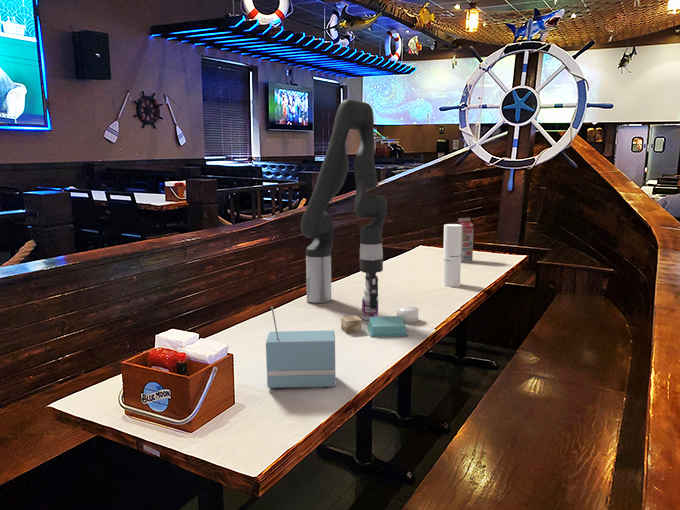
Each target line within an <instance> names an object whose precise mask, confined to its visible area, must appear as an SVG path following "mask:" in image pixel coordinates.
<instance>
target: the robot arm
mask: <svg viewBox="0 0 680 510" xmlns="http://www.w3.org/2000/svg"><path fill="white" fill-rule="evenodd" d="M374 120H375V119H374V110H373V108H372V106H371V105H370V103H367V102H365V101H359V100H356V99H355V100H354V99H350V98H349V99H347V98H346V99H344V100H342V101H341V102H340V103H339V105H338V108H337V110H336V114H335V119H334V123H333V127H332V131H331V132H332V133H331V135H330V140H329V143H328V146H327V149H326V153H325V156H324V158H323V161H322V164H321V166H320V170H319V174H318V176H317V180H316V183H315V185H314V188H313V192H312V193H311V197H310V198H309V202H308V204H307V205H306V208H305V211H304V212H303V214H302V217H301V221H300V231H301V234H302V235H303V236H304V237H305V238H307V239H313V240H312V242H311V243H310V244H309V245H308V246H307V247H306V248H305V266H306V267H305V271H306V272H305V274H306V277H305V279H306V281H305V283H306V302H307V303H313V304H325V303H328V302H331V301H332V254H331V253H332V249H333V245H334V220H333V218H332V215H331V214H330V213H329V212H327V211H325V210H326V208H327V207H328V205H329V204H330V202H331V201H332V200H333V198H335V197H336V195H337V194H338V193H339V191H340V190H341V189H342V187H343V185H344V184H345V182H346V181H345V180H346V178H347V175H348V172H349V170H350V169H349V168H350V166H349V165H350V164H349V158H348V154H347V149H346V142H347V138H348V134H349V131H350V130H355V131H357V132H358V135H359V145H358V149H357V152H356V153H355V154H356V155H355V157H354V161H353V173H354V179H355V197H354V203H353V210H354V213H355V215H356V216H357V217H358V218H359V219H360V218H361V219H365V218H366V219H367V218H368V219H369V218H372V219H371V222H370V223H367V224H364V225H362V226H361V227H360V228H359V234H360V235H359V239H360V240H359V243H360V244H359V245H360V246H359V271H360V272H361V273H364V274H365V276H364V280H365V282H364V283H365V284H364V285H365V290H366V289H367V290H368V291H369V296H370V308H371V309H376V308H377V297H378V298H379V278H378V275H377V273H382V272H383V270H384V266H383V265H384V257H383V256H384V253H383V251H384V250H383V237H382V235H383V228H384V227H383V226H384V223H385V222H384V221H385V219H386V216H387V210H388V202H387V200H386V198H385V197H384V195H379V194H377V195H376V194H374V195H366V192H368V191H372V190H374V189H375V188H377V187H378V184H379V183H378V176H377V170H376V165H375V163H376V161H375V154H374V153H375V152H374V151H375V149H374V147H375V146H374V144H375V141H374V140H375V138H374V137H375V134H374V133H375V132H374V131H375V130H374V129H375V128H374V125H375V122H374ZM372 291H375V293H372Z"/></svg>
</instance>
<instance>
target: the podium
mask: <svg viewBox="0 0 680 510" xmlns="http://www.w3.org/2000/svg"><path fill="white" fill-rule="evenodd" d="M368 322H369V323H367V329H368V332H369V336H370V338H383V337H385V338H387V337H388V338H389V337H408V336H409V334H408V332H407V329H406V328H407V326H406V323H404V322H403V320H402V318H401V316H397V315H390V316H384V315H383V316H378V317H369V320H368Z"/></svg>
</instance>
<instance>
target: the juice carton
mask: <svg viewBox="0 0 680 510" xmlns="http://www.w3.org/2000/svg"><path fill="white" fill-rule="evenodd" d="M455 224H459V225H462V239H461V264H463V263H473V254H474V253H473V251H474V224H473V222H472V221H471V217H460V218H458V221H457V222H455Z"/></svg>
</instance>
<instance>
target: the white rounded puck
mask: <svg viewBox="0 0 680 510" xmlns="http://www.w3.org/2000/svg"><path fill="white" fill-rule="evenodd" d="M396 316H401V318H402V320H403V322H404V324H405V325H406V324H407V325H410V324H415V323H418V322H419V308H418V307H416V306H412V305H402V306H399V307H397V308H396Z"/></svg>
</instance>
